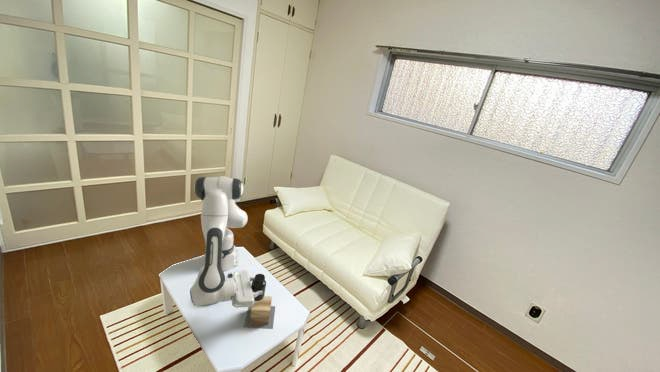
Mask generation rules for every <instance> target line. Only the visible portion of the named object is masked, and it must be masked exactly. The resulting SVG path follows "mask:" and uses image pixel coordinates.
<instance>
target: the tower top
mask: <svg viewBox="0 0 660 372" xmlns="http://www.w3.org/2000/svg"><path fill="white" fill-rule="evenodd" d="M272 301H273V296H267V295H266V296H265V295H264V298H263V299H262V300H260V301H254V305H253V306H252V309H251V317H265V318H269V315H270V308H271V306H272Z"/></svg>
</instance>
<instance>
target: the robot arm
mask: <svg viewBox="0 0 660 372" xmlns="http://www.w3.org/2000/svg"><path fill="white" fill-rule="evenodd" d="M195 180H196V181H195V183H194V186H193V191H194V194H195V195H196V197H197V198H198V199H200V200H201V201H202V202H203V203H202V209H201V214H200V220H201V221H200V222H201V230H202V234H203V238H204V241H205V255H204V259H205V260H204V263H203V264H202V265H201V266H200V269H199V271H198V274H197V277H196V278H195V281H194V283H193V285H192V286H191V288H190V289H189V293H190V301H191V303H192V305H194V306H206V305H208V306H210V305H215V304H214V303H216V302H218V303H224V302H231V305H232V306H233V307H234V308H237V309H238V308H248V307H251V306H253V305H254V298H255V297H257V296H258V295H260V294H262V293H263V291H262V289H259V290H258V292H256V293H255V292H252V287H251V284H252V281H253V280H254V278H255V276H249V271H248V270H246V269H245V270H237V271H234V272H232V271H231V272H230V271H229V272H228V273H227V276H226V275H225V273H224V272H226V271H228V270H230V269H232V268H235V267H237V266H239V250H238V249H236V245H234V242H235V239H234V233H233V231H232V230H231V229H230V228H232V229H239V228H243V227H245V226H246V225H247V223H248V220H249V219H248V214H247V212H246V211H244V210H243V209H241V208H240V207H239V205H237V203H236V201H235V200H239V199H240V198H241V197H242V195H243V193H244V190H245V189H244V184H243V181H242V180H241V179H239V178H232V177H229V176H224V175H221V176H208V177H207V176H201V177H198V178H197V179H195ZM216 304H217V303H216Z"/></svg>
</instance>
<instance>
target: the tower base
mask: <svg viewBox="0 0 660 372" xmlns="http://www.w3.org/2000/svg"><path fill="white" fill-rule="evenodd" d="M268 322H269V318H265V317H251V318H250V323H253V324H268Z"/></svg>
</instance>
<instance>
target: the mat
mask: <svg viewBox="0 0 660 372" xmlns="http://www.w3.org/2000/svg"><path fill="white" fill-rule="evenodd" d="M251 309H252V306H251V307H247V312H246V316H245V321H244V324H243V328H249V329H262V330H263V329H266V330H267V329H269V330H273V329H274V321H275V313H276V305H271V308H270V315H269V322H268V324H253V323H250V318H251Z"/></svg>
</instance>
